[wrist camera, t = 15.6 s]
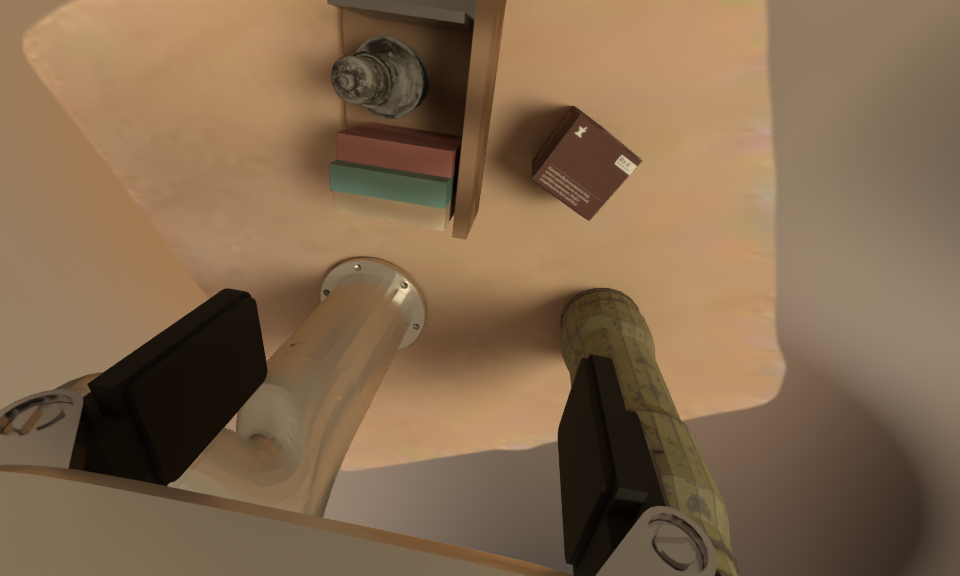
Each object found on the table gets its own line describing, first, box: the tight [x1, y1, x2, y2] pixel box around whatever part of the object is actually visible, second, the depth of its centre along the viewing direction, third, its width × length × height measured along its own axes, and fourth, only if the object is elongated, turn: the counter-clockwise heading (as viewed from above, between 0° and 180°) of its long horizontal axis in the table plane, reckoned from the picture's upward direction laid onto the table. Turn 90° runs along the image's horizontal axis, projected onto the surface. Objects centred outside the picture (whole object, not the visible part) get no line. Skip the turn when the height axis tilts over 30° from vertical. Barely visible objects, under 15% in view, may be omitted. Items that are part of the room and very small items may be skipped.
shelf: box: [329, 0, 506, 239], centre depth 31 cm, size 20×13×10 cm, turn 173°
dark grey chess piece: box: [331, 36, 430, 119], centre depth 29 cm, size 6×6×12 cm
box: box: [532, 106, 642, 221], centre depth 34 cm, size 6×6×7 cm
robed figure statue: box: [561, 288, 739, 576], centre depth 30 cm, size 9×12×35 cm
